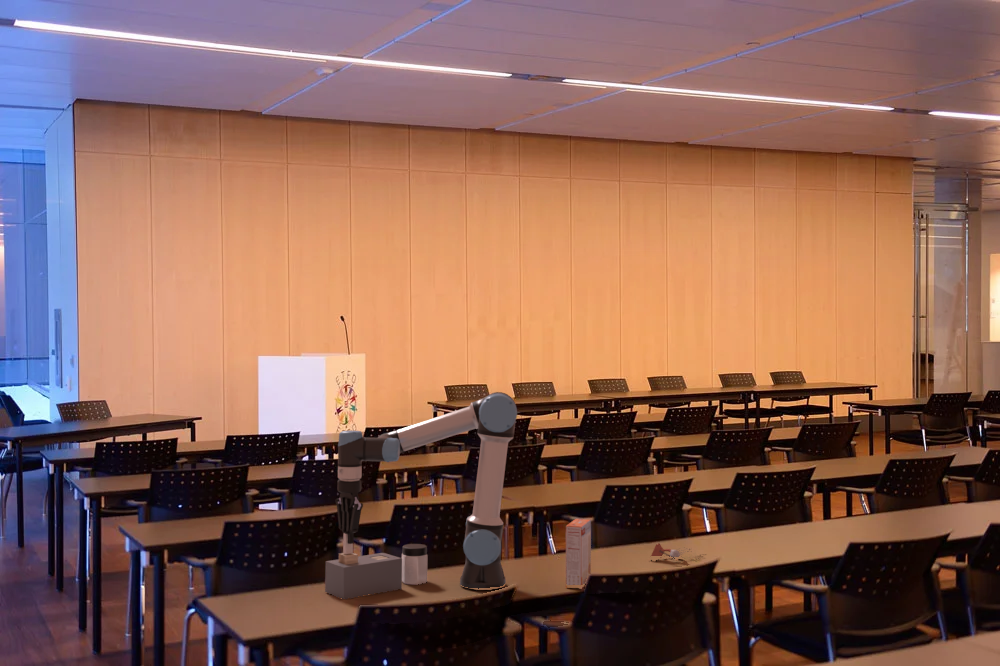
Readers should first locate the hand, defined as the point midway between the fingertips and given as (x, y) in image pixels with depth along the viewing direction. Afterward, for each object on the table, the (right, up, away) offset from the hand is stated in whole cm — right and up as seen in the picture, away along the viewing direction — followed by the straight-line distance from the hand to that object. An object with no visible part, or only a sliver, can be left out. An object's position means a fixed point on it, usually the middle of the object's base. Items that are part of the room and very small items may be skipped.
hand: (347, 553), depth 323 cm
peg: (+9, -11, +8) cm, 16 cm away
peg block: (+5, -13, +4) cm, 14 cm away
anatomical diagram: (+118, -16, +58) cm, 132 cm away
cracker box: (+75, -14, +17) cm, 78 cm away
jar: (+20, -14, +17) cm, 29 cm away
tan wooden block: (0, -8, 0) cm, 8 cm away
